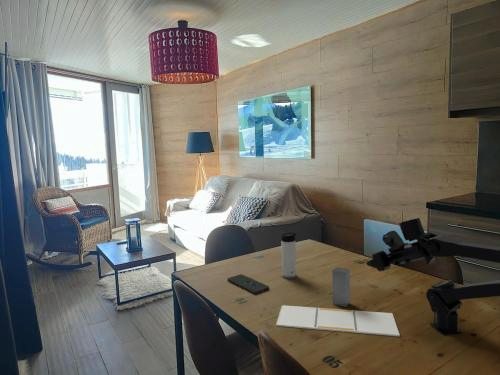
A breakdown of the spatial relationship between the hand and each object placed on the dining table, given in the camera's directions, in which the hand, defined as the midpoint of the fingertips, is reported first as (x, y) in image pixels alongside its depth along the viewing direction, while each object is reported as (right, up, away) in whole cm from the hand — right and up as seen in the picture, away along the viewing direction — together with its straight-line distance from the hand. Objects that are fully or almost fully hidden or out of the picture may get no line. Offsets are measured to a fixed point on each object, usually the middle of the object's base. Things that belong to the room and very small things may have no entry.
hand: (374, 261), depth 128 cm
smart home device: (-47, -15, +21) cm, 54 cm away
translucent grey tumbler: (-12, -16, +1) cm, 20 cm away
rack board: (-17, -17, -11) cm, 27 cm away
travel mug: (-28, -13, +29) cm, 43 cm away
